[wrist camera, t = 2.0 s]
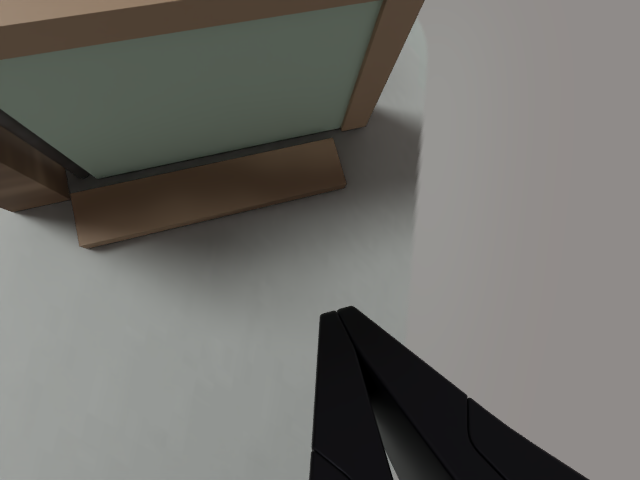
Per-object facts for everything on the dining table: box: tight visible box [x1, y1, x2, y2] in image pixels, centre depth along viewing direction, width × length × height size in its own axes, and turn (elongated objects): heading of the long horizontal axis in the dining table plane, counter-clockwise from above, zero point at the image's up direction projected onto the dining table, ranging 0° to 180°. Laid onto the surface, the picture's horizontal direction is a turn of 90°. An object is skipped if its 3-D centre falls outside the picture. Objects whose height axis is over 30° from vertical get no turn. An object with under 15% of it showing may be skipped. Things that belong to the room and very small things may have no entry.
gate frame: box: [0, 109, 347, 249], centre depth 15 cm, size 6×18×14 cm, turn 105°
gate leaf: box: [0, 0, 424, 179], centre depth 17 cm, size 16×2×11 cm, turn 105°
